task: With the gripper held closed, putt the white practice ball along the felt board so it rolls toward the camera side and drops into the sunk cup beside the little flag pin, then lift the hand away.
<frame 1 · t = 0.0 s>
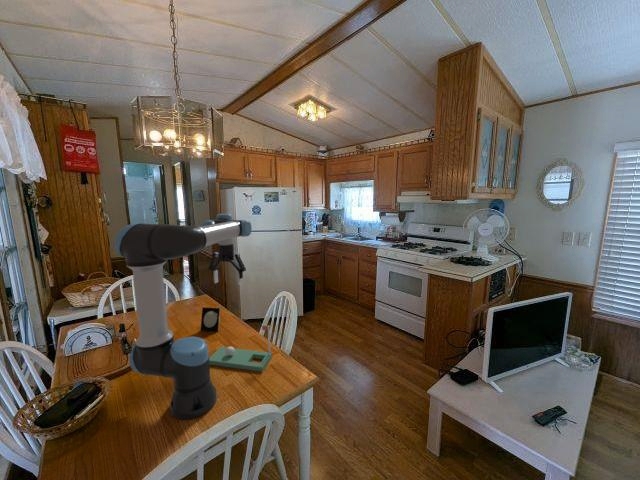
hand: (227, 283, 144), 28 cm above the table, fingers open, 13 cm apart
decorative object: (212, 328, 154), on the table
putting board: (240, 360, 124), on the table
ball: (230, 351, 124), point 4 cm above the table, touching putting board
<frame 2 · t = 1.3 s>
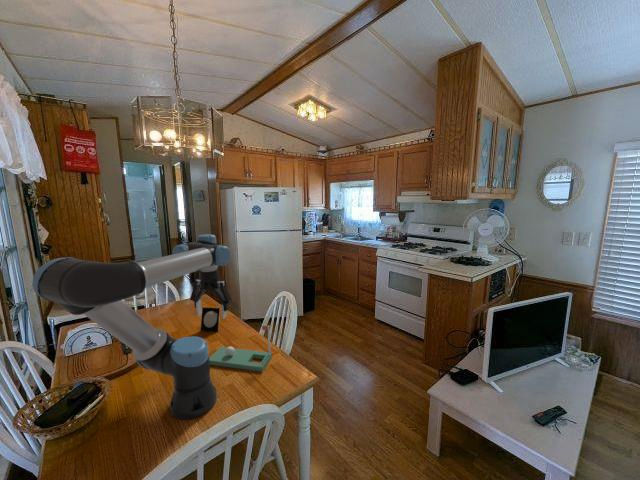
hand: (211, 316, 123), 20 cm above the table, fingers open, 12 cm apart
nothing on the table moved.
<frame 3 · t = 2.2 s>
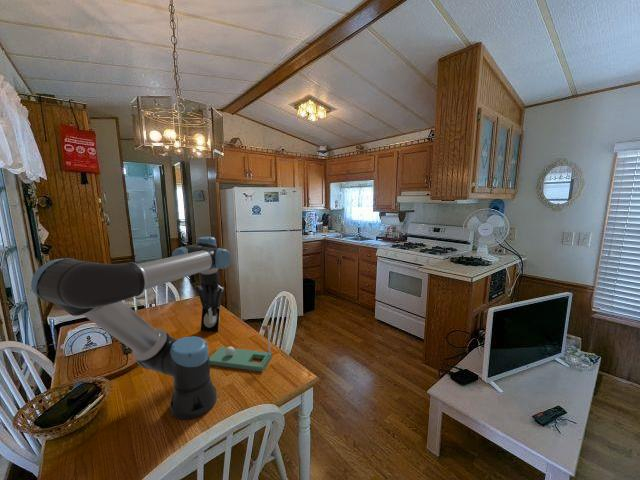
hand: (212, 322, 123), 17 cm above the table, fingers closed
nothing on the table moved.
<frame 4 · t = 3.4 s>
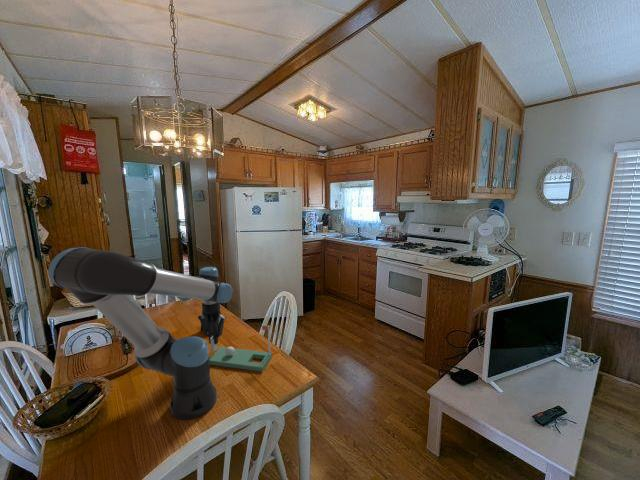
hand: (214, 349, 126), 4 cm above the table, fingers closed
nothing on the table moved.
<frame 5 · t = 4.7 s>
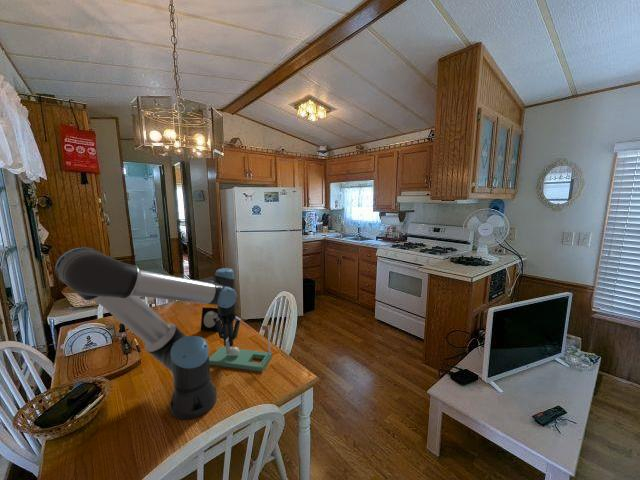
hand: (229, 352, 124), 3 cm above the table, fingers closed
ball: (234, 351, 124), point 4 cm above the table, tilted 52°, touching gripper, putting board
everything else where it was.
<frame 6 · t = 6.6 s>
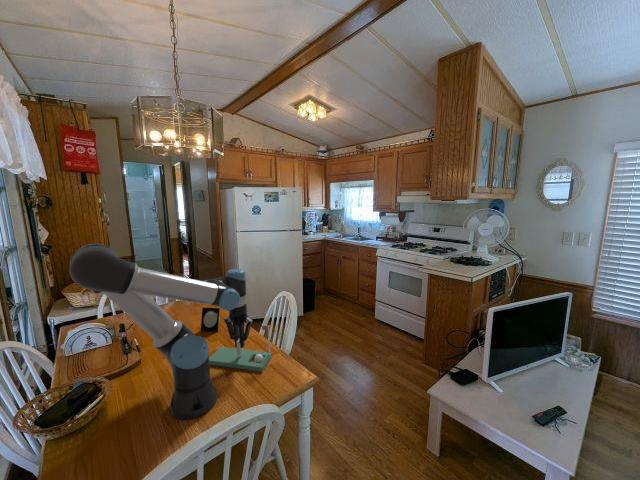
hand: (240, 353, 123), 3 cm above the table, fingers closed
ball: (258, 358, 122), point 2 cm above the table, tilted 25°
everything else where it was.
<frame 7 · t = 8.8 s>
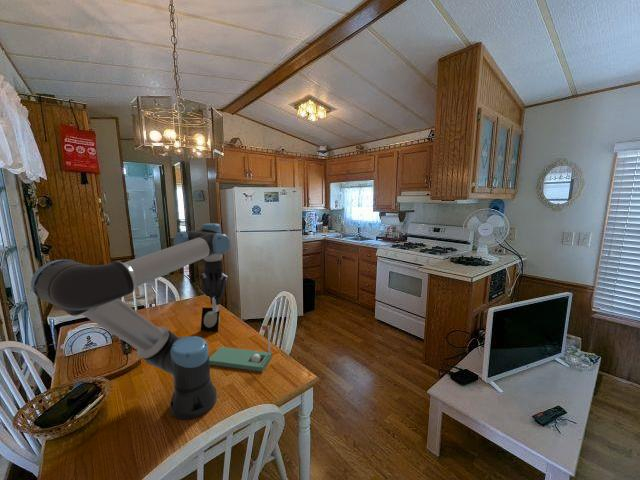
hand: (216, 311, 121), 23 cm above the table, fingers closed
ball: (255, 358, 122), point 2 cm above the table, tilted 11°
everything else where it was.
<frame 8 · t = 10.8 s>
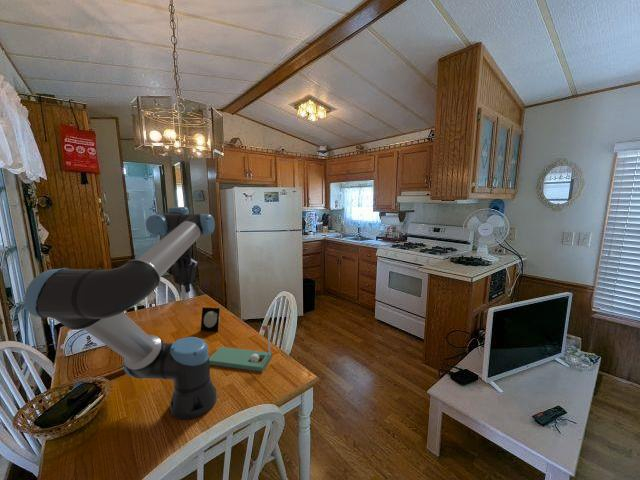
hand: (185, 299, 116), 30 cm above the table, fingers closed
ball: (254, 358, 122), point 2 cm above the table, tilted 27°
everything else where it was.
at the end: ball 0.9 cm from the target spot on the putting board, point 2.0 cm above the putting board's base; ball moved 12.2 cm from its start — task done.
